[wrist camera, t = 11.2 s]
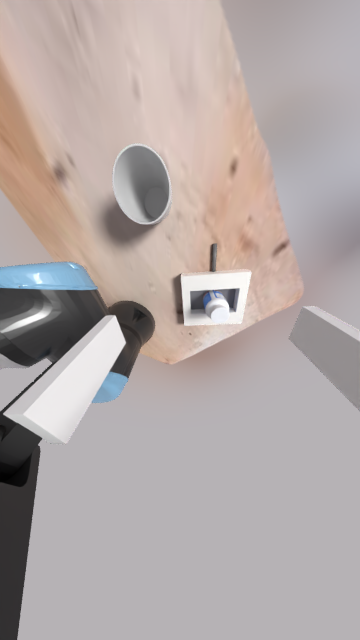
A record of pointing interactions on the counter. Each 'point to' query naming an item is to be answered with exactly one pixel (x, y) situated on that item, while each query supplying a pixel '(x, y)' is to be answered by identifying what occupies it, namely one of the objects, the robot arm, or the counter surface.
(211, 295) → the pill bottle
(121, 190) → the cup
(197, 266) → the counter surface
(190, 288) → the dock
